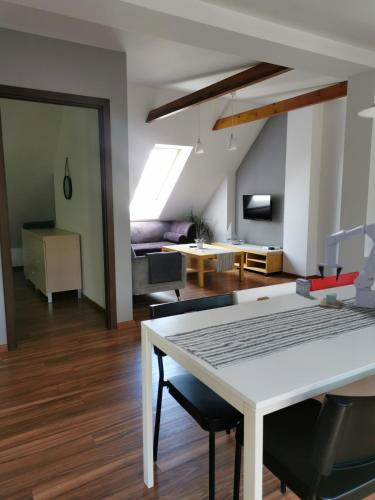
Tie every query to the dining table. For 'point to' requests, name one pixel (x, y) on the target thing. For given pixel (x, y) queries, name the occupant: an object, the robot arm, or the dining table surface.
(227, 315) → the dining table surface
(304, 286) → the medicine box
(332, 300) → the teal cube
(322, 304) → the walnut board
